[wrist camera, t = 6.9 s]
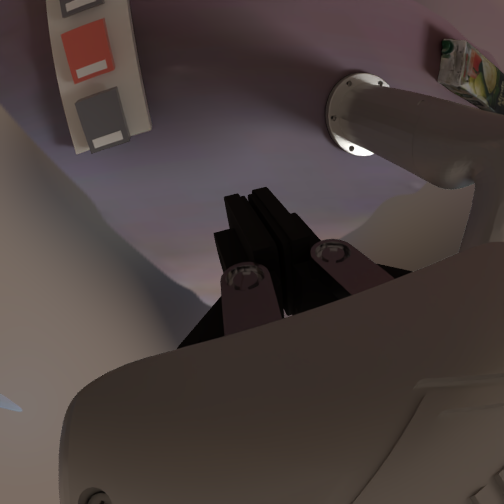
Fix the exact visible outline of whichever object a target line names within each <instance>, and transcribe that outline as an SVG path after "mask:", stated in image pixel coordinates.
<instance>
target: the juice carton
mask: <svg viewBox="0 0 504 504" xmlns="http://www.w3.org/2000/svg"><path fill="white" fill-rule="evenodd" d="M442 46H443V48H442V56H441V63H440V71H439V75H438V83H440V84H442V85H443V86H445V87H447V88H448V89H449V90H450V91H452V92H453V93H455V94H457V95H458V96H460V97H462V98H464V99H466V100H467V101H469V102H470V103H472V104H474V105H475V106H477V107H478V108H480V109H481V110H484V111H489V112H493V113H497V114H502V115H504V74H503V73H502V72H501V71H500V70H499V69H498V68H497V67H496V66H495V65H493V64H492V63H491V62H490V61H489V60H488V59H487V58H486V57H484V56H483V55H482V54H481V53H480V52H479V51H478V50H477V49H475V48H474V47H472V46H471V45H470V44H469V43H468V42H467V41H465V40H454V39H444V40H443V41H442Z"/></svg>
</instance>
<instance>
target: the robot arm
mask: <svg viewBox="0 0 504 504" xmlns="http://www.w3.org/2000/svg"><path fill="white" fill-rule="evenodd" d="M346 83H347V84H346ZM331 116H332V118H331ZM326 124H327V128H328V131H329V133H330V136H331V137H332V139H333V141H334V142H335V143H336V144H337V145H338V146H339V147H340V148H341V149H343V150H344V151H346V152H348V153H350V154H353V155H356V156H369V155H372V154H376V155H378V156H380V157H382V158H384V159H386V160H388V161H390V162H392V163H394V164H396V165H398V166H400V167H402V168H403V169H405V170H407V171H409V172H411V173H413V174H415V175H416V176H418V177H420V178H422V179H423V180H425V181H427V182H429V183H431V184H433V185H435V186H437V187H439V188H443V189H451V190H452V189H460V188H463V187H467V186H469V185H472V184H474V183H475V191H474V196H473V200H472V207H471V210H470V214H469V218H468V221H467V225H466V228H465V232H464V235H463V238H462V242H461V245H460V249H459V252H458V253H457V254H454V255H452V256H450V257H447V258H445V259H443V260H440V261H438V262H436V263H433V264H431V265H429V266H426V267H424V268H421V269H419V270H416V271H414V272H412V271H407V270H403V269H399V268H394V267H389V266H385V265H380V264H376V263H374V262H373V261H372V260H371V259H369V258H368V257H367V256H365V255H364V254H363V253H362V252H360V251H359V250H358V249H356V248H355V247H353V246H352V245H351V244H349V243H348V242H345V241H342V240H338V239H326V240H322V241H321V240H320V239H319V238H318V237H317V236H316V235H315V234H314V232H313V231H312V230H311V229H310V228H309V227H308V226H307V225H306V224H305V222H304V221H303V220H302V219H301V218H300V217H299V216H298V215H297V214H296V213H291V214H290V213H289V212H288V211H287V209H286V208H285V207H284V206H283V205H282V204H281V203H280V201H279V200H278V199H277V198H276V197H275V196H274V195H273V194H272V192H271V191H270V190H269V189H268V188H267V187H264V188H259V189H255V190H252V194H249V195H248V200H247V199H246V197H245V196H241V197H240V195H239V194H233V195H229V196H225V197H224V201H225V207H226V212H227V217H228V222H229V227H230V229H227V230H223V231H220V232H216V233H214V238H215V243H216V247H217V251H218V255H219V259H220V263H221V266H222V269H223V275H222V276H221V281H220V283H221V297H220V298H219V299H218V301H217V302H216V303H215V304H214V305H213V306H212V308H211V309H210V310H209V311H208V312H207V314H206V315H205V316H204V317H203V318H202V319H201V320H200V322H199V323H198V324H197V325H196V326H195V327H194V329H193V330H192V331H191V332H190V333H189V335H188V336H187V337H186V338H185V340H183V342H182V343H181V344H180V345H179V347H178V348H177V349H176V350H172V351H168V352H165V353H161V354H158V355H154V356H150V357H146V358H143V359H140V360H137V361H134V362H131V363H128V364H125V365H123V366H121V367H119V368H117V369H114V370H112V371H109V372H107V373H106V374H104V375H102V376H101V377H99V378H97V379H95V380H94V381H92V382H91V383H89V384H88V385H87V386H85V387H84V388H83V389H82V390H81V391H79V392H78V393H77V395H76V396H75V397H74V398H73V400H72V401H71V403H70V405H69V406H68V409H67V411H66V414H65V417H64V421H63V426H62V432H61V438H60V448H59V498H60V504H504V115H502V114H497V113H493V112H489V111H484V110H480V109H477V108H473V107H470V106H466V105H462V104H459V103H455V102H452V101H448V100H444V99H440V98H436V97H432V96H428V95H424V94H420V93H415V92H411V91H406V90H401V89H396V88H391V87H390V86H389V85H388V84H387V83H386V82H385V81H384V80H383V79H381V78H380V77H378V76H376V75H373V74H369V73H354V74H350V75H348V76H346V77H344V78H343V79H342V80H340V81H339V82H338V83H337V84H336V85H335V87H334V88H333V89H332V91H331V93H330V95H329V98H328V101H327V105H326ZM283 308H284V310H285V312H286V314H287V315H288V316H289V315H293V316H290V317H287V318H284V311H283Z"/></svg>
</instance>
